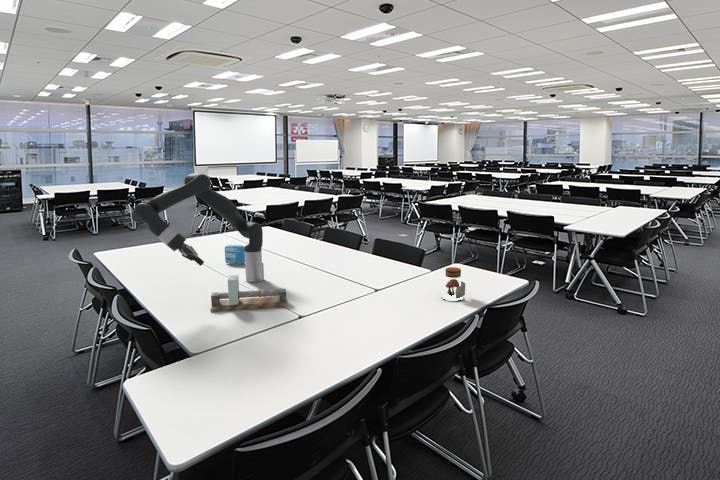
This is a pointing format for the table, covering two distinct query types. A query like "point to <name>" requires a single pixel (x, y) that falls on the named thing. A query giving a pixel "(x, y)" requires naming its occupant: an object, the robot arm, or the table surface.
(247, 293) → the pipe stand
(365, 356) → the table surface
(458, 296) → the jar with lid
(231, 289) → the pale green rectangular block
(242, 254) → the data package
